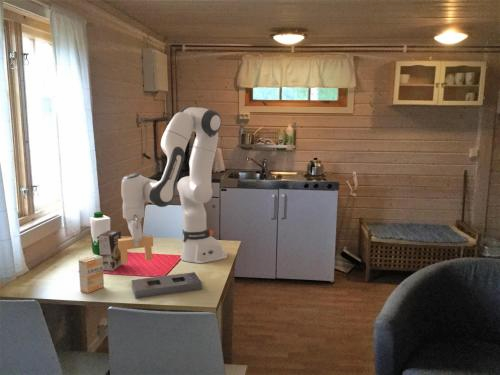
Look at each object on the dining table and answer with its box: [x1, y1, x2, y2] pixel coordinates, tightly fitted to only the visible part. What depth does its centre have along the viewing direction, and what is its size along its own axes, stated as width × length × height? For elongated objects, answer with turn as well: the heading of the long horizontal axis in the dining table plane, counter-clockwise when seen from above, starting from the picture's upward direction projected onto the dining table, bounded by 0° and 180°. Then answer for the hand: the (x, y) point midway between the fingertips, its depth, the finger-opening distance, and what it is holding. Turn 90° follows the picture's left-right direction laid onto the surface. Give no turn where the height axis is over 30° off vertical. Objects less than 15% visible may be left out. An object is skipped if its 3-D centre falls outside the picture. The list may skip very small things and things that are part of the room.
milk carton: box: [89, 211, 111, 256], centre depth 228 cm, size 9×9×20 cm
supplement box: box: [78, 254, 105, 295], centre depth 183 cm, size 8×5×13 cm, turn 148°
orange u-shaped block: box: [118, 235, 154, 265], centre depth 195 cm, size 14×3×10 cm, turn 110°
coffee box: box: [99, 230, 123, 272], centre depth 208 cm, size 9×6×16 cm
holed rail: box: [131, 271, 203, 300], centre depth 185 cm, size 26×12×3 cm, turn 110°
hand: (135, 244), depth 194 cm, fingers closed on orange u-shaped block, 3 cm apart
